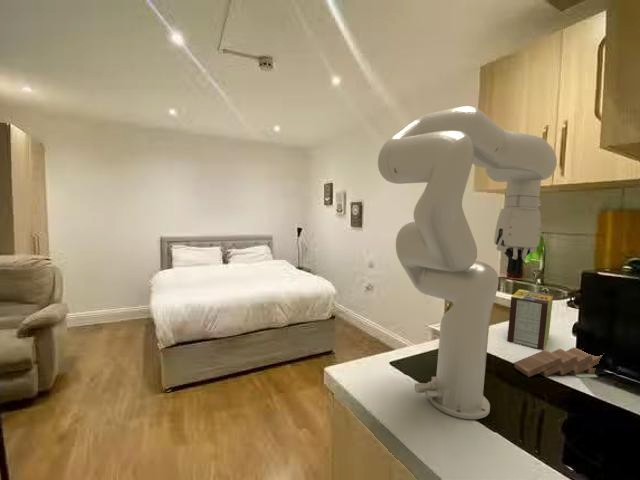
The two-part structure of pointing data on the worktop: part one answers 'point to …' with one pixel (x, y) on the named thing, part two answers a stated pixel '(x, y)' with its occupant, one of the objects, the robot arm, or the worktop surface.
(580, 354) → the domino
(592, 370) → the domino
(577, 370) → the domino
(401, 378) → the worktop surface
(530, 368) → the domino
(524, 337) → the protein box
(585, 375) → the pad
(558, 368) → the domino
